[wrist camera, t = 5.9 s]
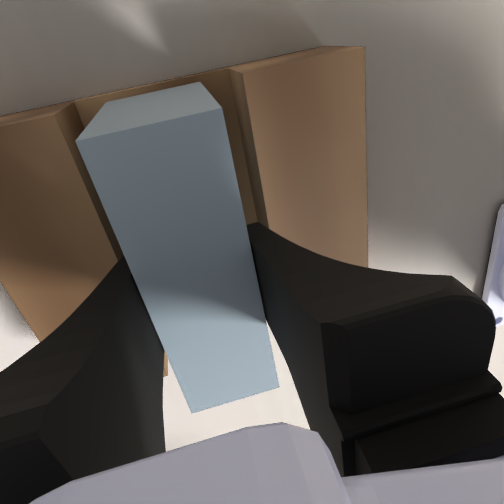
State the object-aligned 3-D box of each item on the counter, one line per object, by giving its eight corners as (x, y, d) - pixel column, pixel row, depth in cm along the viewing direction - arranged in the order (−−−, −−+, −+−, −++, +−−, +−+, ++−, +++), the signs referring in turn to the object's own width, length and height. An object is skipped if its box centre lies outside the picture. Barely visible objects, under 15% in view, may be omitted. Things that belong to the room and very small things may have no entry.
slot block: (324, 46, 13) (364, 46, 10) (339, 278, 18) (369, 317, 15) (-34, 123, 12) (-89, 145, 9) (91, 347, 17) (79, 401, 14)
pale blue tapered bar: (199, 81, 12) (222, 107, 8) (249, 297, 17) (279, 387, 12) (105, 101, 12) (75, 140, 7) (183, 315, 16) (191, 413, 12)
